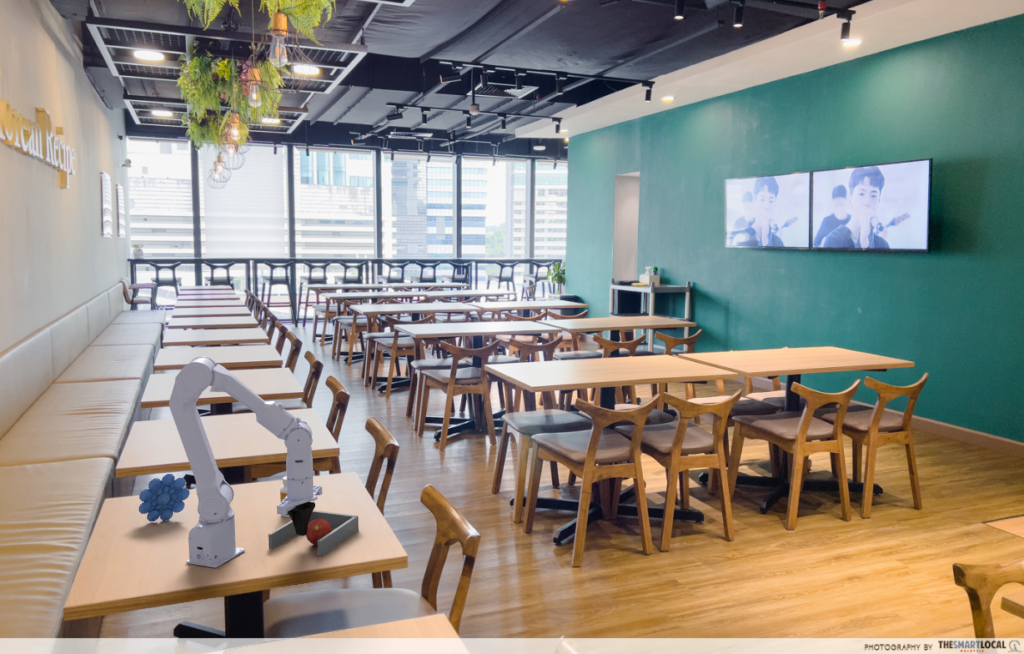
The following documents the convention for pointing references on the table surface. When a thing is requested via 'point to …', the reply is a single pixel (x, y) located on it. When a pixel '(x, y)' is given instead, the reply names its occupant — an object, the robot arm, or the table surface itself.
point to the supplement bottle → (284, 492)
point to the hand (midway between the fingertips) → (301, 534)
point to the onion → (317, 530)
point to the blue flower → (163, 498)
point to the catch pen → (343, 530)
